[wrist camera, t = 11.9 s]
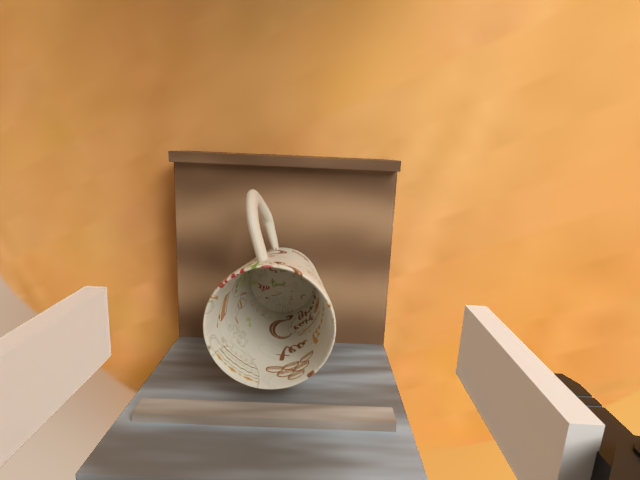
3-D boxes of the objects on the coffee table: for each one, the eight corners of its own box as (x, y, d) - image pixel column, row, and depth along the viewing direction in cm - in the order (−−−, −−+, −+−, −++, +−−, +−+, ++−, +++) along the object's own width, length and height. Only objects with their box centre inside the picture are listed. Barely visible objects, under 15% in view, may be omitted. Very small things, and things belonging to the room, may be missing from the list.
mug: (249, 336, 37) (224, 402, 27) (207, 197, 34) (162, 215, 24) (341, 314, 36) (349, 374, 27) (305, 172, 34) (300, 181, 24)
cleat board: (189, 150, 37) (46, 150, 18) (390, 159, 38) (466, 169, 18) (193, 333, 41) (77, 499, 21) (376, 340, 41) (427, 511, 22)
